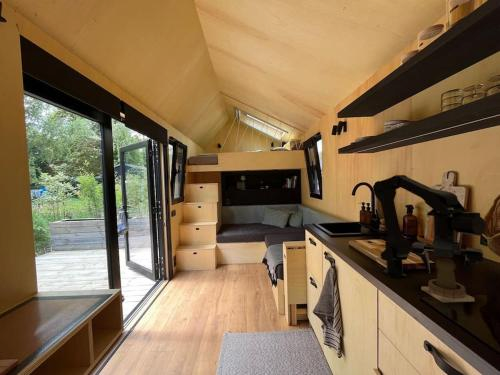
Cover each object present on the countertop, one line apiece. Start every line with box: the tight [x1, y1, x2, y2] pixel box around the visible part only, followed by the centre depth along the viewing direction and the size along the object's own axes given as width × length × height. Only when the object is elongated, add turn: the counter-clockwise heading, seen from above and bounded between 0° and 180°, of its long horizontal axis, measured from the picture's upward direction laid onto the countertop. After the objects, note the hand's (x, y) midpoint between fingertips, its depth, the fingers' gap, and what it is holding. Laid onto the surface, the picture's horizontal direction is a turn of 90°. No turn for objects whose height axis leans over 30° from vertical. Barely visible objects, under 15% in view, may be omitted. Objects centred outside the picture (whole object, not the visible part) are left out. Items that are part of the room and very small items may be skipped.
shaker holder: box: [420, 278, 475, 303], centre depth 84 cm, size 10×10×4 cm
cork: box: [435, 258, 457, 289], centre depth 84 cm, size 6×6×11 cm
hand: (445, 276), depth 84 cm, fingers open, 9 cm apart
